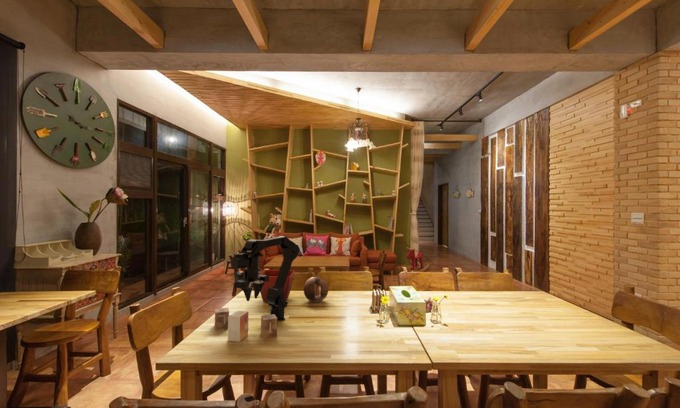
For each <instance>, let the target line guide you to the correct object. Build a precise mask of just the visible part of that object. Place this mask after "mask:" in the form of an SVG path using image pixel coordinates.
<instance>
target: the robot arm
mask: <svg viewBox="0 0 680 408" xmlns="http://www.w3.org/2000/svg"><path fill="white" fill-rule="evenodd" d="M274 246H275V247H276V246H280V247H279V248H281V250H282V262H281V264H280V268H279V269H278V270H279V273H278V276H277V279H276V282H275V285H274V286H273V287H272V288H269V289H268V293H267V295H266V296H267V297H266V300H267V302H268V303H267V304H268V306H269V307H270V309H269V315H272V314H275V316H276V317H277V322H278V321H285V320H286V318H285V308H287V307H288V302H287V301H285V300H284V285H285V282H286V279H287V276H288V273H289V270H291V267H292V263H293V262H294V261H295V260H296V259H297V257H298V256H299V253H300V245H298V244H296V242H294V241H292V240H291V239H290V238H289V237H288V236H286V235H285V236H284V235H279V236H275V237H271V238H270V237H269V238H266V239H248V240H246V242H245V244H244V246H243V247H242V249H241V251H240V252H239V253H233V256H232V257H231V259H230V267H231V269H233V270H238V269H243V271H242V272H240V271H236V272H234V274H233V276H234V277H233V279H235V280H236V281H234V282H233V288H235V289H241V290H242V291H243V293H244V296H245V299H246V301H247V302H249V301H250V300H251V297H252V296H251V295H252V291H253V294H254V295H253V296H254V299H258V297H259V294H261V293H260V291H261V289H262V287H263V286H264V284H265V283H263V281H264V282H269V276H267V275H259V274H260V272H261V271H262V269H261V267H260V257H264V255H263V253H262V251H264V250H265V249H267V248H271V247H274ZM262 280H263V281H262ZM251 285H252V286H251Z"/></svg>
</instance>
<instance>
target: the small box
mask: <svg viewBox="0 0 680 408" xmlns="http://www.w3.org/2000/svg"><path fill="white" fill-rule="evenodd" d="M248 336H249V311H248V310H247V311H245V310H236V311H235V312H234V313H231V314H229V316H228V329H227V341H228V342H231V341H232V342H238V343H240V342H241V341H242V340H243V339H245V338H246V337H248Z"/></svg>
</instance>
